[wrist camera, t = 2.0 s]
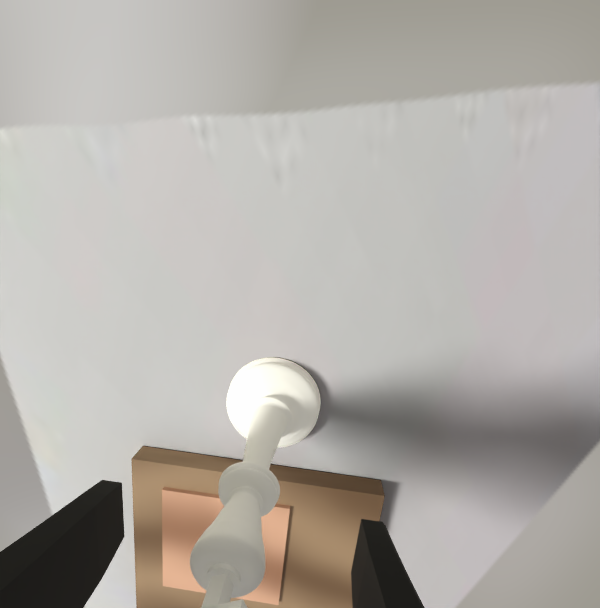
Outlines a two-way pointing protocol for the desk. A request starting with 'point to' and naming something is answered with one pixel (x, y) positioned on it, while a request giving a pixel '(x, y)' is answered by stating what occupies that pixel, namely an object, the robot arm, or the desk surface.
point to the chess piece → (252, 476)
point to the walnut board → (275, 531)
